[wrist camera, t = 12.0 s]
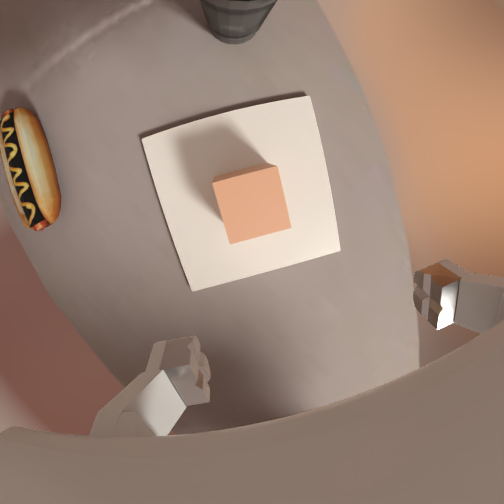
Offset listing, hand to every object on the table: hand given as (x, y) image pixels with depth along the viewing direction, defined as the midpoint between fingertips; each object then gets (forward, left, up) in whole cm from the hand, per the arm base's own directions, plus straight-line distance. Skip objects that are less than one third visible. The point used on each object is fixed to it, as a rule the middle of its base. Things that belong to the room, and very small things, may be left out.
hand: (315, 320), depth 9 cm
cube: (+1, 0, -19) cm, 19 cm away
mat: (+1, 0, -19) cm, 19 cm away
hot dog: (+12, +20, -19) cm, 30 cm away
